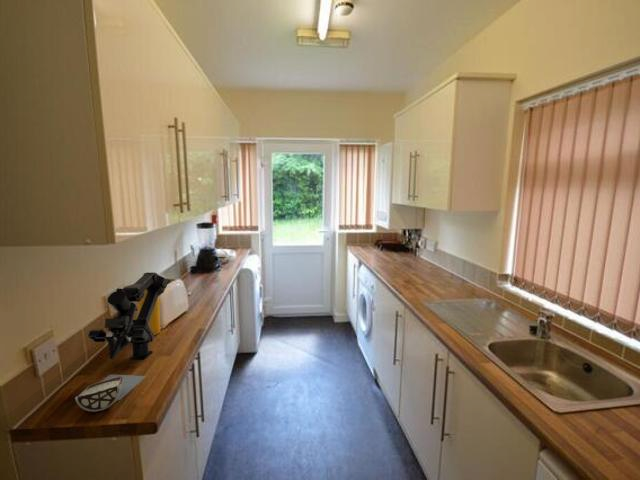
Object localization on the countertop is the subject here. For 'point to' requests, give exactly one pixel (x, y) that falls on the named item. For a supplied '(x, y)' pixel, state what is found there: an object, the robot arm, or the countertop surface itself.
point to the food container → (100, 395)
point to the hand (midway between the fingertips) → (111, 359)
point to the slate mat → (126, 383)
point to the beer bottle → (155, 316)
